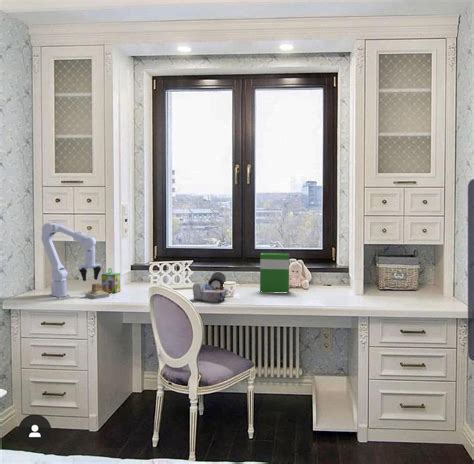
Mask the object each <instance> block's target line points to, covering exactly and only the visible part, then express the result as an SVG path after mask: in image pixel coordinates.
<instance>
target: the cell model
mask: <svg viewBox="0 0 474 464" xmlns="http://www.w3.org/2000/svg"><path fill="white" fill-rule="evenodd" d="M227 292H230V291H229V289H227V288H226V289H225V288H224V287H222V286H221V287H220V289H218V287H216V288H215V289H214V287H213V286H212V285H208V282H207V281H198V282H195V283H194V284H193V285H192V293H193V300H199V301H202V300H203V302H206V301H211V302H210V303H219V302H218V301H220V302H223V301H224V300H225V299H226V298H227V295H228V293H227ZM223 299H224V300H223Z"/></svg>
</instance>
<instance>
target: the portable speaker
mask: <svg viewBox="0 0 474 464" xmlns="http://www.w3.org/2000/svg"><path fill="white" fill-rule="evenodd" d="M226 281H227V278H226V275H225V274H224V273H222V272H221V271H216V272H214V273H213V274H212V275H211V276H210V278H209V280H208V282H207V283H208V285H212V286H213V287H214V289H215V288H216V287H218V289H220V287H221V286H222V287H223V284H224V282H225V283H226ZM224 285H225V284H224ZM223 288H224V287H223Z"/></svg>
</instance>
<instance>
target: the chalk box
mask: <svg viewBox="0 0 474 464" xmlns="http://www.w3.org/2000/svg"><path fill="white" fill-rule="evenodd" d="M107 271H108V272H105V273H101V274H100V275H101V277H100V278H101V284H102V291H104V292H105V293H109V294H115V293H116V294H117V293H119V292H121V290H122V289H121V273H120V272H113V270H112V268H111V267H110V268H108V269H107Z"/></svg>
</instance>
